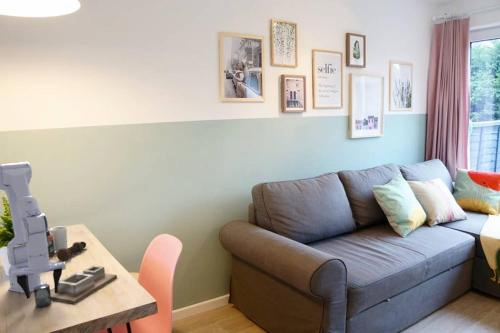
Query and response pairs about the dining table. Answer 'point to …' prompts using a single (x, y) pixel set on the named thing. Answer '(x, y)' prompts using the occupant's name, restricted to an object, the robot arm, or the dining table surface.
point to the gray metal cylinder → (42, 296)
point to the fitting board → (81, 284)
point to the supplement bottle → (50, 244)
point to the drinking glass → (59, 237)
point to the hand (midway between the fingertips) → (42, 294)
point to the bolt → (70, 251)
